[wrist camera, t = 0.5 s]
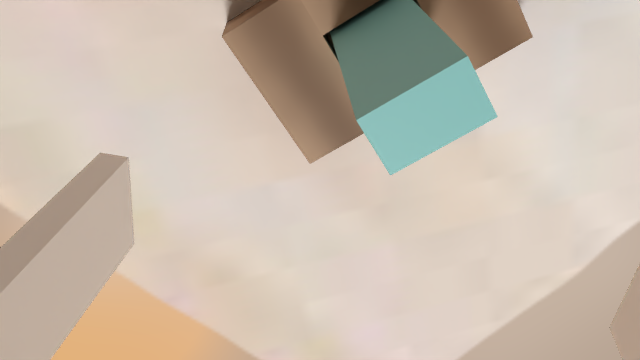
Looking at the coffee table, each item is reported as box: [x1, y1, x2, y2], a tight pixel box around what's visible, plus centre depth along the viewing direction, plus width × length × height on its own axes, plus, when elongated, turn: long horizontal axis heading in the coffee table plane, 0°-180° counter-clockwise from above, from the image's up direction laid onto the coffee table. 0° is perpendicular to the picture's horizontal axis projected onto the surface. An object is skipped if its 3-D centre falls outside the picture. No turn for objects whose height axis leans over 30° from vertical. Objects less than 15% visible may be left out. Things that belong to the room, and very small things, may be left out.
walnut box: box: [222, 0, 533, 164], centre depth 37 cm, size 16×10×4 cm, turn 121°
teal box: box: [330, 0, 497, 175], centre depth 31 cm, size 5×3×16 cm, turn 121°
